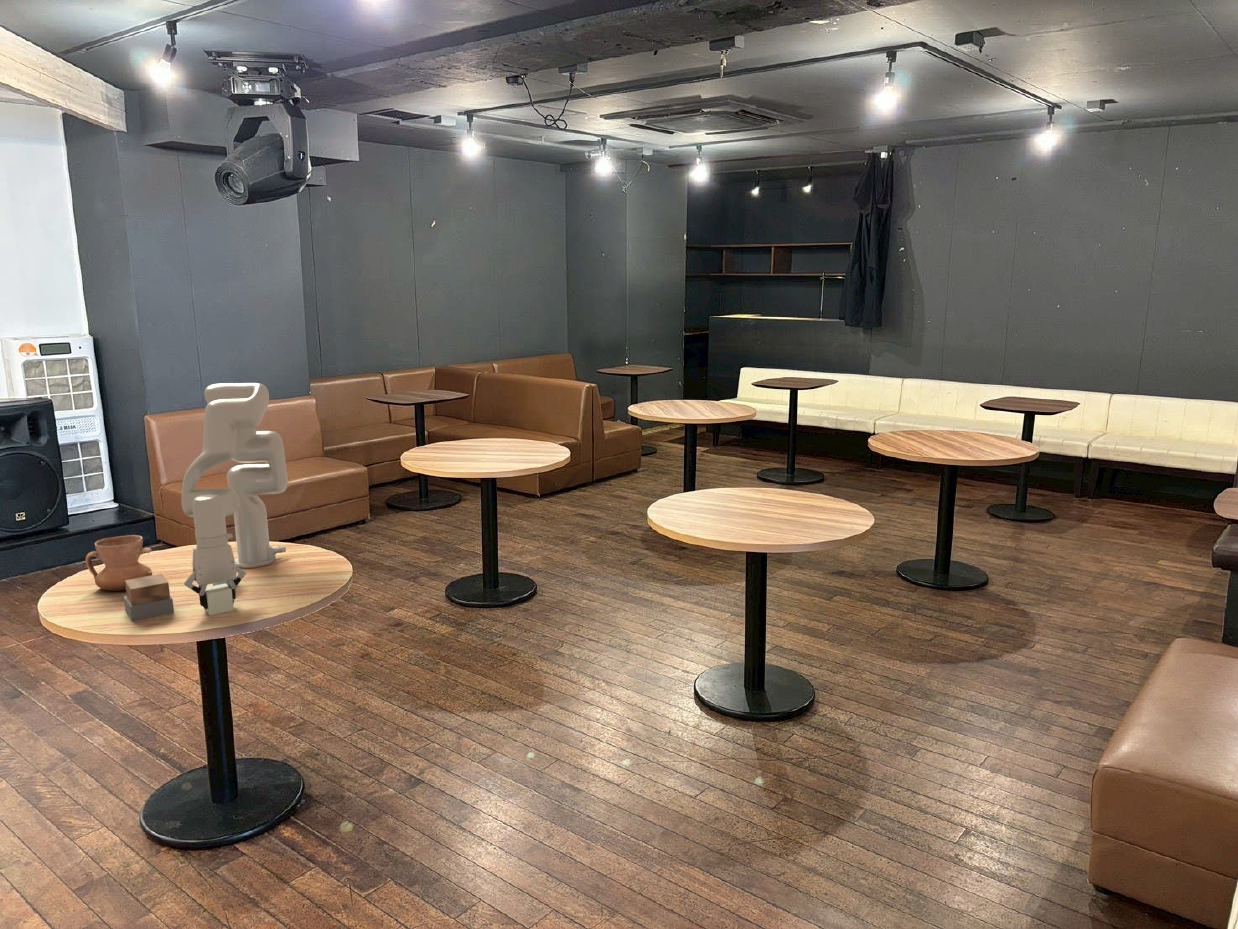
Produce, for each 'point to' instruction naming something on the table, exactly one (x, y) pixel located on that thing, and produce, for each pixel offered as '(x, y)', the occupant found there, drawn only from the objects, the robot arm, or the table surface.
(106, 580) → the ceramic jug
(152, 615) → the tower base block
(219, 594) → the cream cube
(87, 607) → the table surface
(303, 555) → the table surface
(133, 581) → the tower top block
